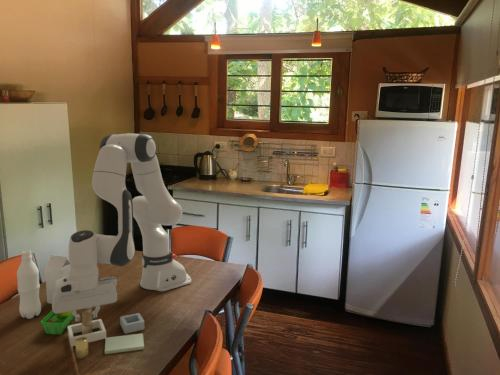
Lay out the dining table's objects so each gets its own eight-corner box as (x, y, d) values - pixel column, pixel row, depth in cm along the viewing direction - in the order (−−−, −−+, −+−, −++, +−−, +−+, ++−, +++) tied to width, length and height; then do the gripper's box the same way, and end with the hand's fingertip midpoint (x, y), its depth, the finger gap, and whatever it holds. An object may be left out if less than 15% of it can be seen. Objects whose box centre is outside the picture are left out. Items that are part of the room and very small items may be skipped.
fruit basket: (56, 319, 154) (54, 290, 152) (80, 320, 154) (79, 291, 152) (40, 335, 143) (38, 305, 141) (66, 337, 143) (64, 306, 141)
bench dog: (87, 353, 134) (86, 336, 133) (89, 359, 131) (88, 341, 130) (75, 356, 132) (74, 338, 131) (77, 362, 129) (76, 344, 128)
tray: (101, 328, 149) (101, 318, 148) (106, 340, 141) (106, 331, 141) (68, 335, 144) (67, 325, 143) (71, 349, 136) (70, 339, 135)
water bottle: (25, 310, 159) (20, 248, 154) (44, 310, 160) (40, 248, 155) (16, 320, 152) (11, 254, 147) (37, 320, 153) (32, 254, 148)
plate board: (142, 339, 144) (142, 333, 143) (144, 353, 136) (144, 346, 136) (105, 344, 140) (105, 337, 140) (104, 358, 133) (104, 351, 132)
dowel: (91, 333, 145) (91, 306, 143) (93, 337, 142) (92, 310, 140) (81, 335, 143) (81, 307, 141) (82, 339, 140) (82, 311, 138)
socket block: (139, 322, 153) (139, 312, 153) (144, 331, 148) (144, 321, 147) (120, 327, 150) (120, 316, 149) (124, 336, 144) (124, 325, 144)
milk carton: (63, 305, 164) (60, 259, 160) (47, 303, 166) (44, 257, 162) (74, 297, 171) (72, 253, 167) (58, 295, 172) (56, 251, 169)
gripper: (114, 271, 146) (116, 308, 149) (49, 282, 136) (52, 321, 139) (118, 278, 141) (120, 316, 144) (51, 289, 131) (54, 330, 134)
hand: (86, 318), depth 141 cm, fingers open, 4 cm apart
